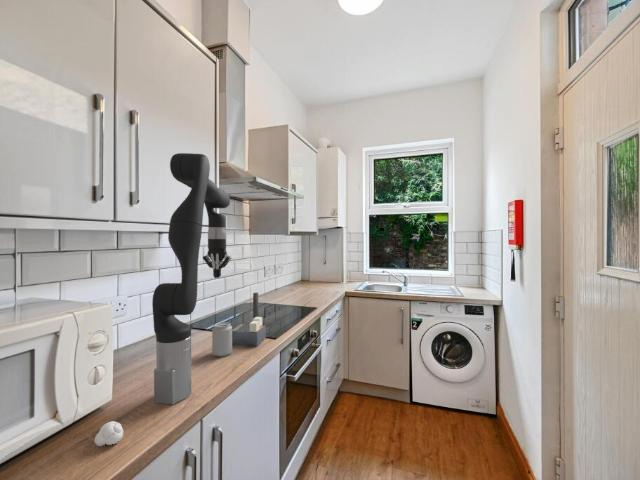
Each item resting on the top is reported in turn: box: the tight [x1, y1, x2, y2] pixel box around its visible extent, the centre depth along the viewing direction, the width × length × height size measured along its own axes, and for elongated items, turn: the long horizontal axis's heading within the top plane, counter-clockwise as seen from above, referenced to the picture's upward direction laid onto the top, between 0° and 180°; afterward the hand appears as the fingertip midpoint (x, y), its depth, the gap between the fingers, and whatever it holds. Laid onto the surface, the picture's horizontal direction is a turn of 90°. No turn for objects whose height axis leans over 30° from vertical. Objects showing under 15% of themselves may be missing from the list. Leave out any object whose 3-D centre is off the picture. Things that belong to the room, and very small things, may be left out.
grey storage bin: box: [232, 323, 267, 348], centre depth 128 cm, size 10×12×6 cm
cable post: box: [252, 292, 259, 320], centre depth 136 cm, size 4×4×20 cm
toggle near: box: [249, 320, 259, 332], centre depth 125 cm, size 4×3×4 cm
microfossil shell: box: [94, 421, 124, 447], centre depth 66 cm, size 4×5×6 cm
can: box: [211, 321, 233, 358], centre depth 115 cm, size 8×8×12 cm
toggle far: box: [252, 316, 263, 327], centre depth 131 cm, size 4×3×4 cm
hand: (217, 277), depth 126 cm, fingers closed
